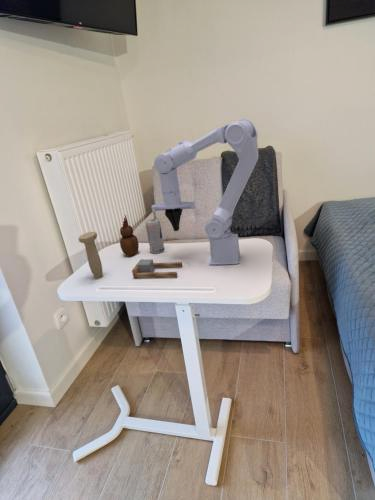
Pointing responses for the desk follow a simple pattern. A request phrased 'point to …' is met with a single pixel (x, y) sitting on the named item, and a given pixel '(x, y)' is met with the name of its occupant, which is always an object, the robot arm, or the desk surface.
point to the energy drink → (155, 236)
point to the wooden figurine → (128, 239)
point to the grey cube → (146, 266)
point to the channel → (157, 274)
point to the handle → (92, 253)
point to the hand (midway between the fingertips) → (176, 230)
